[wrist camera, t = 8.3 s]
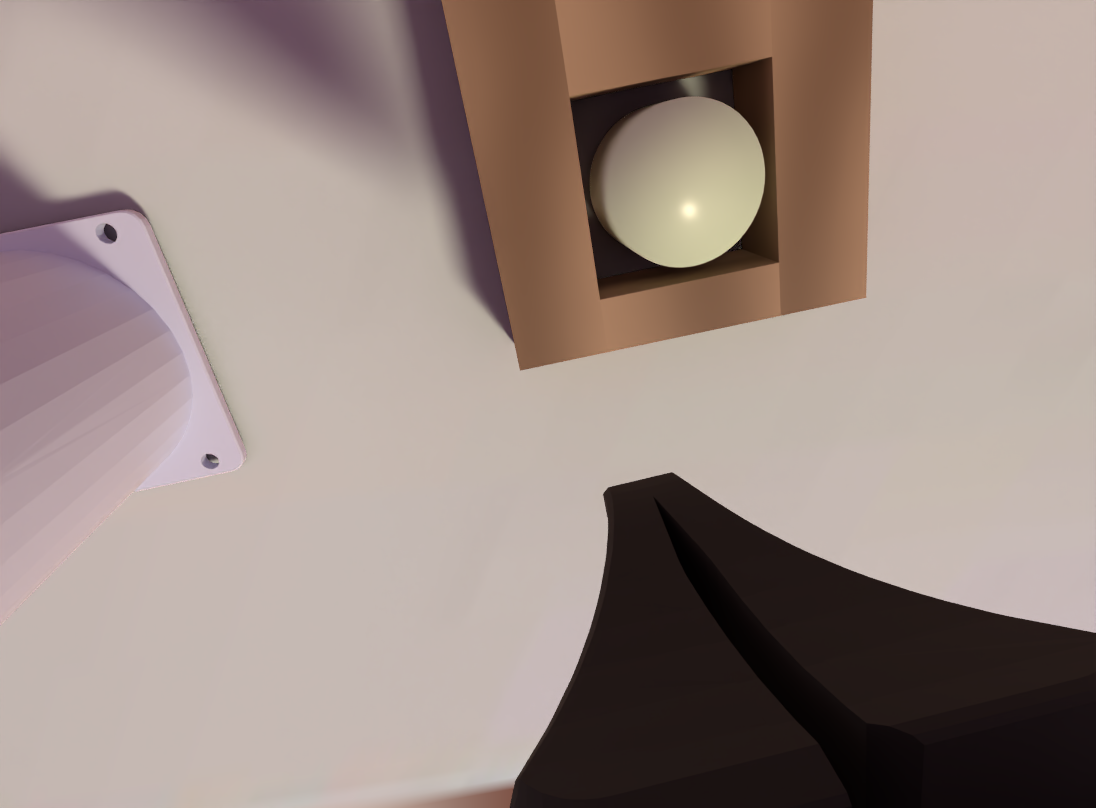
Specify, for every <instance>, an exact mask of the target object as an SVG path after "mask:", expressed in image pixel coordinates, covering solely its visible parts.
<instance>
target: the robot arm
mask: <svg viewBox="0 0 1096 808" xmlns="http://www.w3.org/2000/svg"><path fill="white" fill-rule="evenodd" d="M105 224H109V225H111V226H113V227H114V229H115V230H116V231H117V239H116V241H115V242H114V241H112V240H110V239H108V238H107V236H106V235H105V233H104V227H105ZM206 454H212V455H214V456H216V457H217V458H218V460H219V463H213V462H210V461H209V460H208V459H207V458H206ZM246 456H247V453H246V449H245V447H244V444H243V442H242V440H241V437H240V435H239V432H238V430H237V428H236V425H235V423H234V421H233V418H232V416H231V414H230V411H229V409H228V407H227V404H226V402H225V399H224V397H223V395H222V392H221V390H220V388H219V385H218V383H217V381H216V378H215V376H214V374H213V371H212V369H211V366H210V364H209V362H208V359H207V357H206V355H205V352H204V350H203V348H202V345H201V343H200V341H199V338H198V336H197V333H196V331H195V329H194V326H193V324H192V322H191V319H190V317H189V315H188V312H187V310H186V308H185V305H184V303H183V300H182V298H181V296H180V293H179V291H178V289H177V286H176V284H175V282H174V279H173V277H172V275H171V272H170V270H169V267H168V265H167V263H166V260H165V258H164V256H163V253H162V251H161V249H160V246H159V244H158V242H157V239H156V237H155V234H154V232H153V230H152V227H151V225H150V223H149V222H148V220H147V219H146V217H144V216H143V215H142V214H141V213H139V212H137V211H134V210H127V209H124V210H118V211H113V212H108V213H103V214H98V215H92V216H87V217H82V218H77V219H72V220H67V221H62V222H57V223H52V224H47V225H42V226H37V227H32V228H27V229H22V230H17V231H12V232H7V233H2V234H0V625H1V624H2V623H3V622H4V621H5V620H6V619H7V618H8V617H9V616H10V615H11V614H12V613H13V612H14V611H15V610H16V609H17V608H18V607H19V606H20V605H21V604H22V603H23V602H24V601H25V600H26V599H27V598H28V597H29V596H30V595H31V594H32V593H33V592H34V591H35V590H36V589H37V588H38V587H39V586H40V585H41V584H42V583H43V582H44V581H45V580H46V579H47V578H48V577H49V576H50V575H51V574H52V573H53V572H54V571H55V570H56V569H57V568H58V567H59V566H60V565H61V564H62V563H63V562H64V561H65V560H66V559H67V558H68V557H69V556H70V555H71V554H72V553H73V552H74V551H75V550H76V549H77V548H78V547H79V546H80V545H81V544H82V543H83V542H84V541H85V540H86V539H87V538H88V537H89V536H90V535H91V534H92V533H93V532H94V531H95V530H96V529H97V528H98V527H99V526H100V525H101V524H102V523H103V522H104V521H105V520H106V519H107V518H108V517H109V516H110V515H111V514H112V513H113V512H114V511H115V510H116V509H117V508H118V507H119V506H120V505H121V504H122V503H123V502H124V501H125V500H126V499H127V498H128V497H129V496H130V495H131V494H132V493H133V492H137V491H142V490H147V489H151V488H156V487H161V486H166V485H170V484H175V483H180V482H184V481H189V480H194V479H198V478H203V477H208V476H213V475H217V474H222V473H227V472H231V471H234V470H237V469H239V468H240V467H241V465H242V464H243V463H244V462H245V460H246ZM603 496H604V501H605V506H606V512H607V517H608V541H607V554H606V561H605V567H604V573H603V579H602V584H601V590H600V594H599V598H598V603H597V607H596V610H595V614H594V617H593V621H592V624H591V628H590V631H589V634H588V637H587V639H586V642H585V645H584V648H583V651H582V653H581V656H580V659H579V662H578V664H577V667H576V669H575V671H574V674H573V676H572V678H571V681H570V683H569V685H568V687H567V689H566V691H565V693H564V695H563V697H562V699H561V701H560V703H559V706H558V708H557V710H556V712H555V714H554V716H553V718H552V720H551V722H550V724H549V725H548V727H547V729H546V731H545V733H544V734H543V736H542V738H541V739H540V741H539V743H538V744H537V746H536V748H535V749H534V751H533V753H532V754H531V756H530V758H529V759H528V761H527V762H526V764H525V766H524V767H523V769H522V771H521V772H520V774H519V776H518V777H517V779H516V781H515V785H514V789H513V794H512V799H511V804H510V808H1096V633H1093V632H1088V631H1083V630H1077V629H1072V628H1067V627H1062V626H1056V625H1051V624H1046V623H1041V622H1035V621H1030V620H1025V619H1020V618H1014V617H1009V616H1004V615H1000V614H995V613H991V612H987V611H983V610H979V609H975V608H971V607H967V606H963V605H959V604H955V603H951V602H947V601H943V600H940V599H937V598H933V597H930V596H926V595H923V594H919V593H916V592H912V591H909V590H906V589H903V588H900V587H897V586H894V585H891V584H888V583H885V582H882V581H879V580H876V579H873V578H870V577H867V576H865V575H862V574H859V573H857V572H854V571H851V570H849V569H846V568H844V567H841V566H839V565H836V564H834V563H832V562H829V561H827V560H825V559H822V558H820V557H817V556H815V555H813V554H810V553H808V552H806V551H804V550H802V549H800V548H797V547H795V546H793V545H791V544H789V543H787V542H785V541H783V540H782V539H780V538H778V537H776V536H774V535H772V534H770V533H768V532H766V531H764V530H762V529H761V528H759V527H757V526H755V525H753V524H752V523H750V522H748V521H747V520H745V519H743V518H742V517H740V516H738V515H737V514H735V513H733V512H732V511H730V510H728V509H727V508H725V507H724V506H722V505H721V504H719V503H717V502H716V501H714V500H713V499H711V498H710V497H708V496H707V495H705V494H704V493H702V492H701V491H699V490H698V489H696V488H695V487H693V486H692V485H691V484H689V483H688V482H686V481H685V480H683V479H682V478H680V477H679V476H677V475H675V474H674V473H672V472H671V473H667V474H663V475H659V476H654V477H650V478H646V479H642V480H638V481H633V482H629V483H625V484H621V485H617V486H612V487H608V488H607V490H606V491H605V492H604V494H603Z"/></svg>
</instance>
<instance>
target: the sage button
mask: <svg viewBox="0 0 1096 808" xmlns="http://www.w3.org/2000/svg"><path fill="white" fill-rule="evenodd" d="M764 184H765V165H764V158H763V153H762V149H761V146H760V143H759V141H758V138H757V136H756V135H755V133H754V131H753V129H752V128H751V126H750V125H749V124H748V122H747V121H746V120H745V119H744V118H743V117H742V116H741V115H740V114H739V113H738V112H737V111H735V110H734V109H733V108H731V107H730V106H728V105H726V104H724V103H722V102H720V101H717V100H714V99H711V98H705V97H691V96H690V97H682V98H677V99H673V100H669V101H665V102H661V103H657V104H653V105H649V106H646V107H642V108H639V109H637V110H635V111H632V112H631V113H629V114H627V115H626V116H624V117H623V118H622V119H620V120H619V121H618V122H617V123H615V125H614V126H613V127H612V128H611V129H610V130H609V131H608V132H607V134H606V135H605V136H604V138H603V139H602V141H601V143H600V144H599V146H598V148H597V151H596V153H595V155H594V159H593V162H592V166H591V172H590V196H591V201H592V205H593V208H594V211H595V213H596V215H597V217H598V219H599V221H600V223H601V224H602V226H603V227H604V229H605V230H606V231H607V232H608V233H609V234H610V235H611V236H612V237H613V238H614V239H615V240H617V241H618V242H620V243H621V244H623V245H624V246H626V247H628V248H629V249H631V250H632V251H634V252H636V253H637V254H639V255H640V256H642V257H644V258H645V259H647V260H649V261H651V262H653V263H656V264H659V265H663V266H668V267H690V266H696V265H700V264H703V263H706V262H708V261H711V260H713V259H715V258H717V257H718V256H720V255H722V254H723V253H725V252H726V251H727V250H729V249H730V248H731V247H732V246H733V245H734V244H735V243H736V242H738V241H739V239H740V238H741V237H742V236H743V235H744V234H745V232H746V231H747V229H748V228H749V226H750V225H751V223H752V221H753V219H754V218H755V216H756V214H757V211H758V208H759V206H760V203H761V199H762V196H763V191H764Z"/></svg>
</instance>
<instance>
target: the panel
mask: <svg viewBox="0 0 1096 808" xmlns="http://www.w3.org/2000/svg"><path fill="white" fill-rule="evenodd" d="M441 1H442V5H443V10H444V15H445V20H446V24H447V29H448V34H449V38H450V43H451V48H452V52H453V57H454V62H455V66H456V71H457V76H458V81H459V85H460V90H461V95H462V99H463V104H464V109H465V113H466V118H467V123H468V128H469V132H470V137H471V142H472V146H473V151H474V156H475V160H476V165H477V170H478V175H479V179H480V184H481V189H482V193H483V198H484V203H485V207H486V212H487V217H488V221H489V226H490V231H491V236H492V240H493V245H494V250H495V254H496V259H497V264H498V268H499V273H500V278H501V283H502V287H503V292H504V297H505V301H506V306H507V311H508V315H509V320H510V325H511V329H512V334H513V339H514V344H515V348H516V353H517V358H518V362H519V367H520V370H525V369H529V368H534V367H539V366H544V365H548V364H553V363H558V362H563V361H567V360H572V359H577V358H582V357H586V356H591V355H596V354H601V353H605V352H610V351H615V350H619V349H624V348H629V347H634V346H638V345H643V344H648V343H653V342H657V341H662V340H667V339H672V338H676V337H681V336H686V335H691V334H695V333H700V332H705V331H710V330H714V329H719V328H724V327H729V326H733V325H738V324H743V323H748V322H752V321H757V320H762V319H767V318H771V317H776V316H781V315H785V314H790V313H795V312H800V311H804V310H809V309H814V308H819V307H823V306H828V305H833V304H838V303H842V302H847V301H852V300H857V299H861V298H866V275H867V231H868V188H869V145H870V102H871V58H872V15H873V0H441ZM730 69H732V74H733V92H734V110H735V111H737V112H738V113H739V114H740V115H741V116H742V117H743V118H744V119H745V120H746V121H747V122H748V124H749V125H750V126H751V128H752V129H753V131H754V133H755V135H756V136H757V138H758V141H759V143H760V146H761V149H762V153H763V158H764V165H765V184H764V191H763V196H762V199H761V203H760V206H759V208H758V211H757V214H756V216H755V218H754V219H753V221H752V223H751V225H750V226H749V228H748V229H747V231H746V232H745V234H744V235H743V236H742V249H741V250H736V251H731V252H726V253H723V254H722V255H720V256H718V257H717V258H715V259H713V260H711V261H708V262H706V263H703V264H700V265H696V266H690V267H668V266H659V267H654V268H649V269H644V270H639V271H634V272H630V273H625V274H620V275H615V276H610V277H605V278H601V279H597V276H596V270H595V263H594V257H593V250H592V243H591V237H590V230H589V223H588V217H587V210H586V204H585V197H584V190H583V184H582V177H581V170H580V164H579V157H578V151H577V144H576V137H575V131H574V124H573V117H572V111H571V104H570V101H573V100H578V99H583V98H588V97H593V96H598V95H603V94H608V93H613V92H619V91H624V90H629V89H634V88H639V87H644V86H649V85H654V84H659V83H664V82H669V81H674V80H679V79H685V78H690V77H695V76H700V75H705V74H710V73H715V72H720V71H725V70H730Z"/></svg>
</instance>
